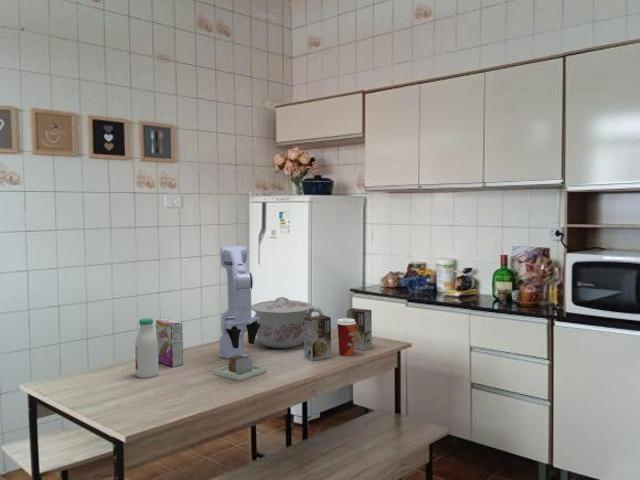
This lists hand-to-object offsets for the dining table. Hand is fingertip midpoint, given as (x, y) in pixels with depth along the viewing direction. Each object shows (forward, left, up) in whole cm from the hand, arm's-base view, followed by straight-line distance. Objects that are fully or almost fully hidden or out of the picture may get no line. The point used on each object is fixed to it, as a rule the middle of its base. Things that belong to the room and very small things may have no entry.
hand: (243, 345), depth 199 cm
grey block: (0, 0, -10) cm, 10 cm away
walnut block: (-5, +1, -10) cm, 11 cm away
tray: (-3, +1, -10) cm, 11 cm away
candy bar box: (-33, -7, -11) cm, 35 cm away
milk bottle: (-27, -21, -11) cm, 36 cm away
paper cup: (+12, +45, -11) cm, 48 cm away
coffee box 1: (+6, +34, -11) cm, 36 cm away
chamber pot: (-19, +41, -11) cm, 46 cm away
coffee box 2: (+10, +57, -11) cm, 59 cm away
